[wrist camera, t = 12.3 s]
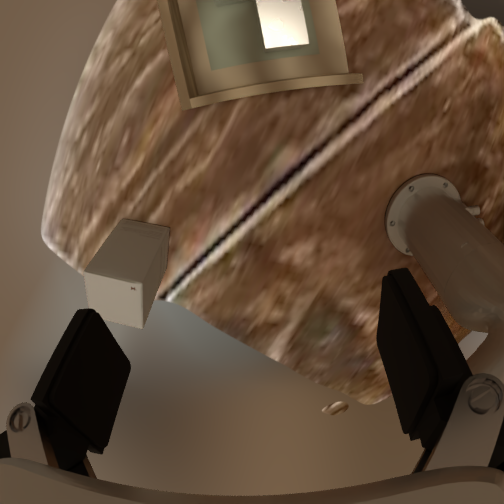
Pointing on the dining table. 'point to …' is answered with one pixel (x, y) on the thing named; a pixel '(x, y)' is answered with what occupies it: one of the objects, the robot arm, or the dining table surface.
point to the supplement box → (127, 272)
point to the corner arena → (248, 51)
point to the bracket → (278, 23)
